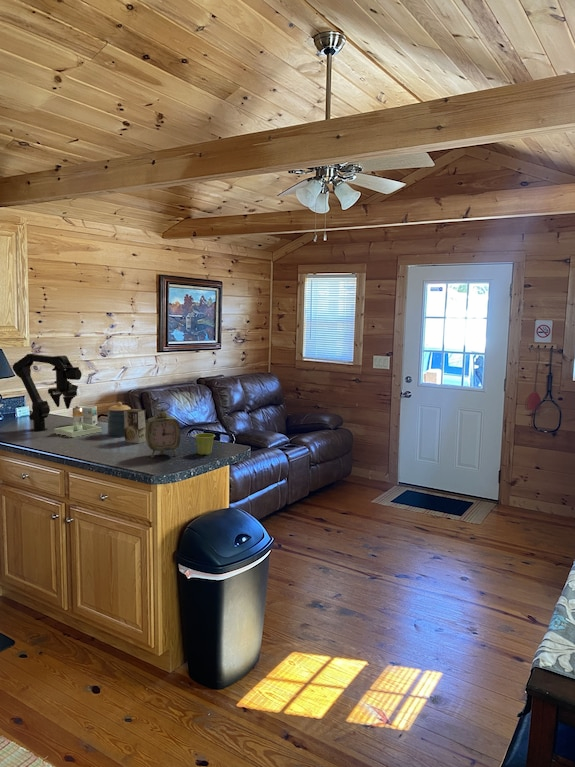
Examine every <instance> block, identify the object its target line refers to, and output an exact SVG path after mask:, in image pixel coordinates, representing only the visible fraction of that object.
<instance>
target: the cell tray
mask: <svg viewBox="0 0 575 767" xmlns="http://www.w3.org/2000/svg"><path fill="white" fill-rule="evenodd" d="M83 428H87V430H81V431H76V432H73V424H72V425H68V426H60V427H56V428H54V434H55V433H56V434H55V435H58V434H61V435H60V436H62V435H66V436H70V437H75V438H77V437H76V436H80V437H82V436H81V435H85V434H90V433H96V432H101V433H102V430H103V428H102V426H97V425H89V424H83ZM96 434H97V433H96ZM90 435H91V434H90ZM66 436H65V437H66ZM85 436H86V435H85ZM70 437H69V438H70Z"/></svg>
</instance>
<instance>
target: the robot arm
mask: <svg viewBox="0 0 575 767" xmlns="http://www.w3.org/2000/svg"><path fill="white" fill-rule="evenodd" d="M34 362H36V363H43V364H49V365H51V366H53V368H52V369H51V371H54V372H55V380H54V384H55V385H56V386H55V387H51V388H50V387H49V388H48V390H47V394H49V396H50V398H51V399H52V400H53V402H54V405H55V406H56V408H60V404H61V402H60V400H61V396H62V399H63V402H64V406H65V408H66V410H69V409H70V406H71V403H72V401H73V399H74V398H76V397H77V396H78V388H79V385H76V384H73V383H72V382H71V381H70V380H72V381H73V380H76V381H79V380H81V379H82V374H83V373H82V371H81V369H80V367H79V366H73V364H72V363H71V362H70V360H69V358H68V355H55V356H51V355H45V354H36V353H27V354H26V355H24V357H22V358H21V359H19V360H18V361H16V362H14V363H13V365H12V370H13V372H14V373H15V375H16V376H17V377H19V379H20V380H21V381H22V384H23V386H24V388H25V389H26V392H27V394H28V397H29V398H30V400H31V403H32V404H31V410H32V412H31V413H30V414H29V415H28V418H29V420H30V421H32V427H33V428H30V430H31V431H34V432H41V431H46V430H48V428H46V420H45V419H46V418H48V416H49V414H50V412H51V407H50V405H49V402H48V400H44V399H42V397H41V395H40V393H39V390H38V388H37V386H36V385H35V382H34V381H33V378H32V375H31V373H32V372H31V371H32V369H31V367H32V366H33V365H34Z"/></svg>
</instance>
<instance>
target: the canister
mask: <svg viewBox="0 0 575 767" xmlns="http://www.w3.org/2000/svg"><path fill="white" fill-rule="evenodd" d="M129 409H132V408H131V407H130V406H129V405H127V404H123V403H122V402H121V401H118V402H117V403H116V405H115V404H114V405H111V406H110V407H109V408H108V412H106V414H107V420H106V421H107V435H108V437H109V436H110V437H112V436H113V438H118V437H119V438H121V437H123V438H125V426H124V411H125V410H129Z"/></svg>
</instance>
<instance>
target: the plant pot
mask: <svg viewBox="0 0 575 767" xmlns="http://www.w3.org/2000/svg"><path fill="white" fill-rule="evenodd" d="M215 437H216V435H215V434H214V433H205V432H202V433H197V434H194V438H195V441H196V446H197V447H196V448H197V454H199V455H200V456H202V455H206V456H208V455H211V454H212V450H213V444H214V440H215V439H214V438H215Z"/></svg>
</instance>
